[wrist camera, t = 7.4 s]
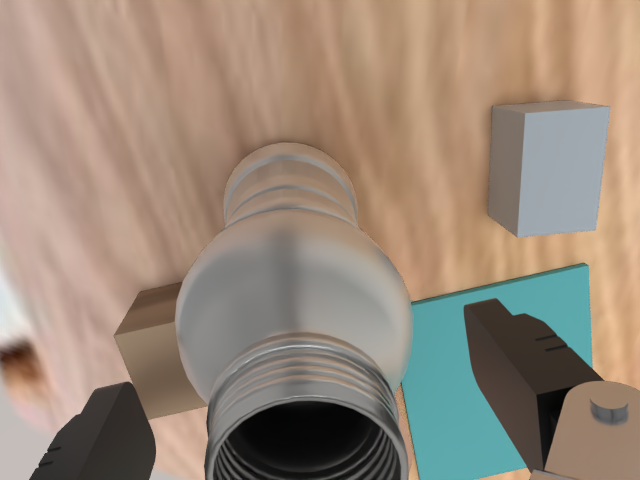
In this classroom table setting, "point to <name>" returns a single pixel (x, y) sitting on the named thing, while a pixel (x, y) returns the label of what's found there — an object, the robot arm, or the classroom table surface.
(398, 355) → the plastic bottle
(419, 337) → the teal mat
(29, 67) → the classroom table surface
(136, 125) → the classroom table surface
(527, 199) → the slate grey box
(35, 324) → the classroom table surface
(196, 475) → the classroom table surface
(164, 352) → the walnut block
